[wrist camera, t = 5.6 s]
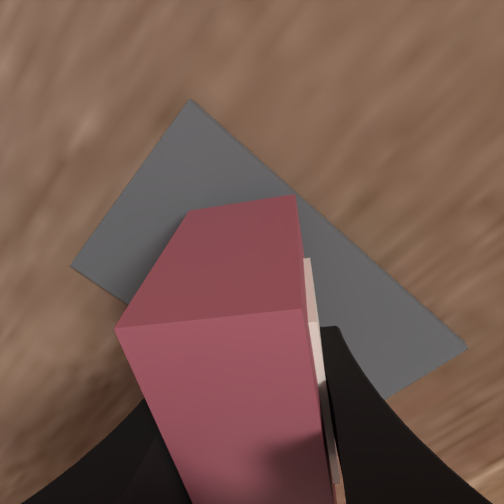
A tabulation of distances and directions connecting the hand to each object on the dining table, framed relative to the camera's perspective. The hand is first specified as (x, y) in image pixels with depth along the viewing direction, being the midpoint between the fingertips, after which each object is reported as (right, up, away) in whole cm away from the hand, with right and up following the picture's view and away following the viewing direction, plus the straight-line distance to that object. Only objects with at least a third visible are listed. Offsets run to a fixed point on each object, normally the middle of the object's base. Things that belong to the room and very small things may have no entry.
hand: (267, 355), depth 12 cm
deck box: (0, +1, +2) cm, 2 cm away
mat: (0, +1, +3) cm, 3 cm away
